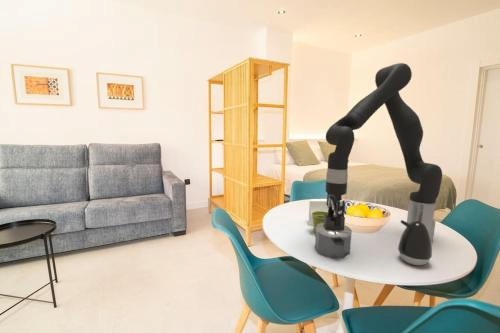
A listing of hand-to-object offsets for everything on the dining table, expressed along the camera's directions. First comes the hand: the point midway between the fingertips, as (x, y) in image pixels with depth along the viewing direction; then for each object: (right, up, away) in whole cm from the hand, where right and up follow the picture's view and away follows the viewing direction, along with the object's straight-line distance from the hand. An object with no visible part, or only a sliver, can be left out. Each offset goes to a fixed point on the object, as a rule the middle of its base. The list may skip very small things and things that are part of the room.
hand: (333, 222), depth 100 cm
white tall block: (+2, -7, +29) cm, 30 cm away
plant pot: (0, -9, +19) cm, 21 cm away
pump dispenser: (+27, -13, -6) cm, 30 cm away
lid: (0, -4, +1) cm, 4 cm away
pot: (0, -11, +2) cm, 12 cm away
